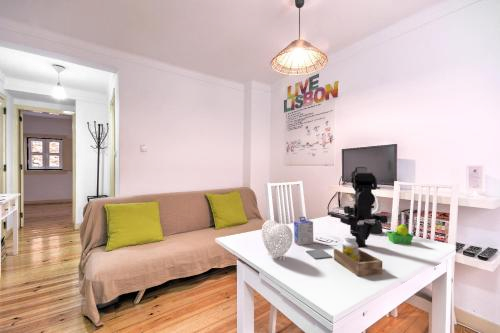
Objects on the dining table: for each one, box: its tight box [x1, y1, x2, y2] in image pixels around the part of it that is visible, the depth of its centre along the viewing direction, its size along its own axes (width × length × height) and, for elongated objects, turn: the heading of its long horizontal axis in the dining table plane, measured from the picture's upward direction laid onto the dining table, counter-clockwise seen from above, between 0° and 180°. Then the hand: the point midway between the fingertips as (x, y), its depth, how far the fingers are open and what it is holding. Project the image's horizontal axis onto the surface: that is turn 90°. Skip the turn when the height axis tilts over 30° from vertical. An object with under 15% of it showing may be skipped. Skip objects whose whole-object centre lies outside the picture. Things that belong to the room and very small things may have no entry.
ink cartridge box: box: [293, 216, 314, 246], centre depth 127 cm, size 10×6×14 cm, turn 108°
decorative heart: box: [261, 219, 294, 262], centre depth 106 cm, size 18×11×17 cm, turn 35°
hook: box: [369, 194, 384, 236], centre depth 146 cm, size 11×11×25 cm
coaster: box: [305, 248, 333, 260], centre depth 110 cm, size 9×9×1 cm
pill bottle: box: [342, 234, 359, 262], centre depth 102 cm, size 6×6×12 cm
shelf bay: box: [333, 248, 383, 277], centre depth 98 cm, size 11×16×5 cm
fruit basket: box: [386, 223, 414, 245], centre depth 128 cm, size 11×9×11 cm
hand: (363, 239), depth 93 cm, fingers closed
